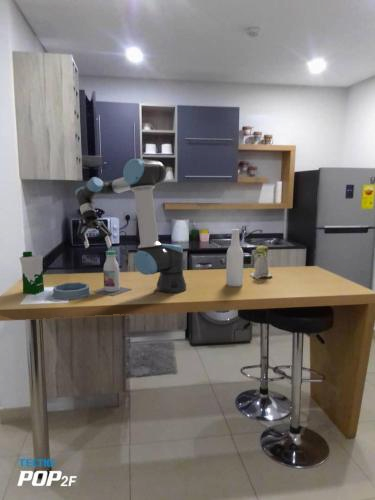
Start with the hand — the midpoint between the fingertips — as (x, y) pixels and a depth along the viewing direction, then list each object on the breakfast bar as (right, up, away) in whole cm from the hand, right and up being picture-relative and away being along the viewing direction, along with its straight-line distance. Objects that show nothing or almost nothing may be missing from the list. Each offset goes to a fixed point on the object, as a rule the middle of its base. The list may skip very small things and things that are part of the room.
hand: (99, 247), depth 190 cm
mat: (+9, -22, -9) cm, 25 cm away
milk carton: (-29, -23, -12) cm, 39 cm away
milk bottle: (+9, -22, -9) cm, 25 cm away
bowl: (-9, -23, -16) cm, 29 cm away
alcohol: (+72, -20, +4) cm, 75 cm away
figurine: (+90, -18, +23) cm, 95 cm away
